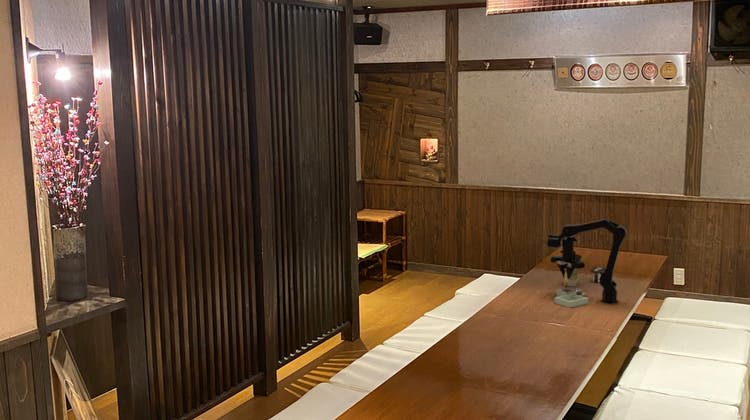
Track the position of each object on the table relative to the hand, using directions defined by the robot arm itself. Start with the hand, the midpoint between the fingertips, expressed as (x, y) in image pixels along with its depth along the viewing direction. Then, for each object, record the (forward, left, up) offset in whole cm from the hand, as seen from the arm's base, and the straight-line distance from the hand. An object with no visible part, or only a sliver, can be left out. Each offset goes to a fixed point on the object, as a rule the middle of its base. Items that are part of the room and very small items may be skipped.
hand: (566, 278), depth 374 cm
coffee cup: (+16, -20, -10) cm, 28 cm away
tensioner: (0, -4, -10) cm, 11 cm away
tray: (-10, +7, -10) cm, 16 cm away
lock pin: (0, 0, -5) cm, 5 cm away
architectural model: (+14, -40, -11) cm, 43 cm away
